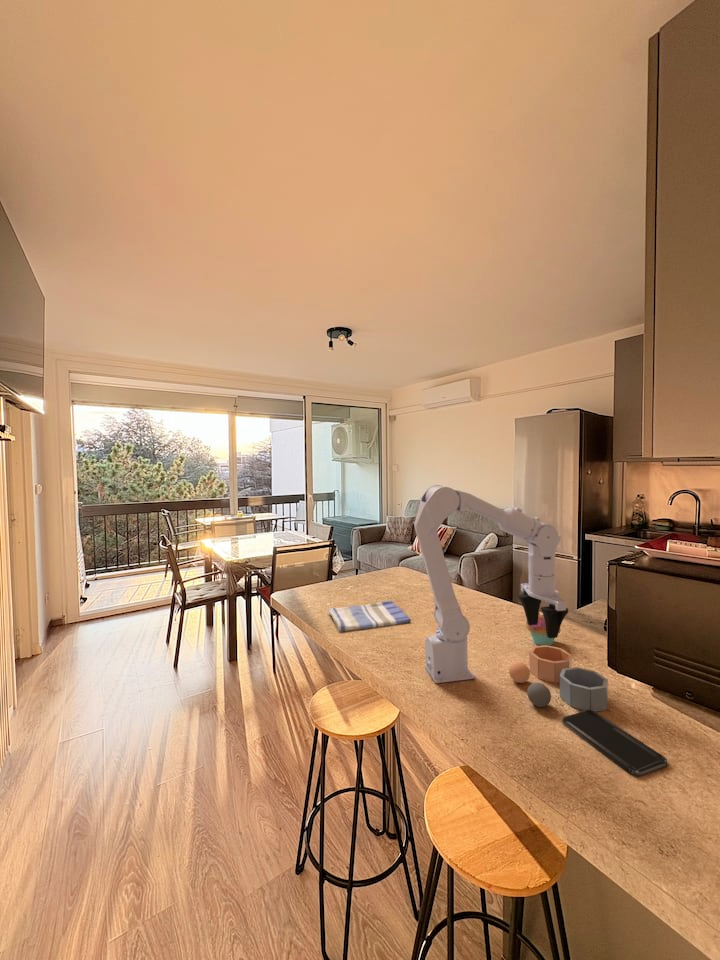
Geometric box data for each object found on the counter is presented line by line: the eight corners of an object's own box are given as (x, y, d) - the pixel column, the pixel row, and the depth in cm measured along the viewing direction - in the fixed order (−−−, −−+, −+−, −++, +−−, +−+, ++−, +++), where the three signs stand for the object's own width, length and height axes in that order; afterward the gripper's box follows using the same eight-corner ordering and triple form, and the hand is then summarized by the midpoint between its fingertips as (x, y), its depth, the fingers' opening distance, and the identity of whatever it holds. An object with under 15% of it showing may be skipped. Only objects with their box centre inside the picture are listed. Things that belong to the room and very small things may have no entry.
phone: (635, 774, 63) (559, 717, 78) (635, 781, 63) (559, 723, 78) (671, 760, 66) (591, 708, 80) (671, 767, 66) (591, 714, 80)
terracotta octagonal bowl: (544, 684, 91) (544, 664, 90) (523, 666, 99) (523, 647, 99) (579, 679, 92) (579, 660, 92) (555, 662, 100) (555, 644, 100)
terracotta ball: (515, 688, 90) (515, 668, 89) (505, 677, 94) (504, 658, 94) (534, 685, 90) (533, 666, 90) (523, 675, 95) (522, 656, 94)
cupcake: (540, 651, 106) (539, 605, 106) (519, 638, 115) (518, 595, 114) (567, 646, 109) (567, 601, 108) (545, 633, 117) (544, 592, 116)
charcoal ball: (535, 713, 80) (535, 691, 80) (523, 700, 85) (522, 679, 85) (555, 710, 81) (555, 688, 81) (542, 697, 86) (542, 677, 85)
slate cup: (579, 713, 80) (579, 691, 80) (552, 690, 88) (552, 669, 88) (617, 708, 81) (617, 686, 81) (587, 686, 89) (587, 665, 89)
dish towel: (327, 614, 139) (327, 606, 139) (393, 606, 144) (393, 598, 144) (336, 634, 122) (336, 625, 122) (411, 624, 128) (411, 615, 127)
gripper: (578, 580, 90) (578, 641, 91) (538, 565, 104) (539, 617, 105) (549, 583, 89) (549, 645, 89) (513, 566, 103) (513, 620, 104)
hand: (542, 630), depth 97 cm, fingers open, 7 cm apart
